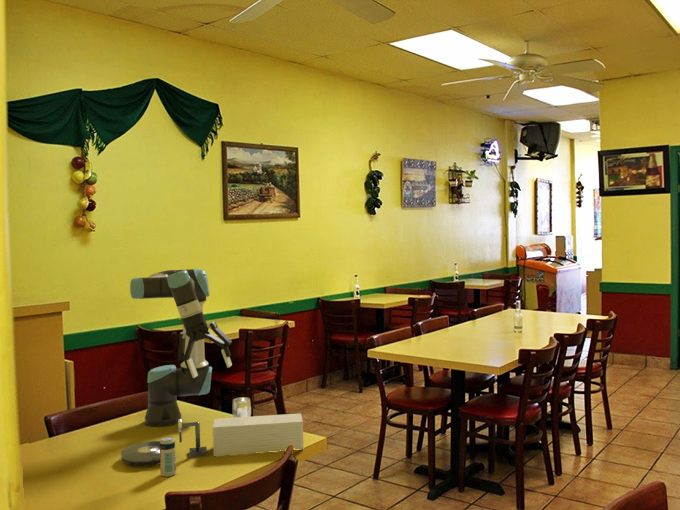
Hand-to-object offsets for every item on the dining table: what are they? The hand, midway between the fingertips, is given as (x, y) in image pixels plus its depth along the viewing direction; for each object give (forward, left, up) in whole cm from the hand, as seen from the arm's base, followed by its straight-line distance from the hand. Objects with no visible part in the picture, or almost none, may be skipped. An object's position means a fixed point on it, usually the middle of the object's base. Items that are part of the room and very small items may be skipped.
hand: (212, 371), depth 220 cm
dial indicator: (-11, +2, -31) cm, 33 cm away
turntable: (-23, -7, -29) cm, 38 cm away
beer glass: (-3, +24, -31) cm, 40 cm away
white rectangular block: (+9, +15, -31) cm, 36 cm away
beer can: (-7, -17, -31) cm, 36 cm away
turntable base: (-23, -7, -31) cm, 39 cm away
